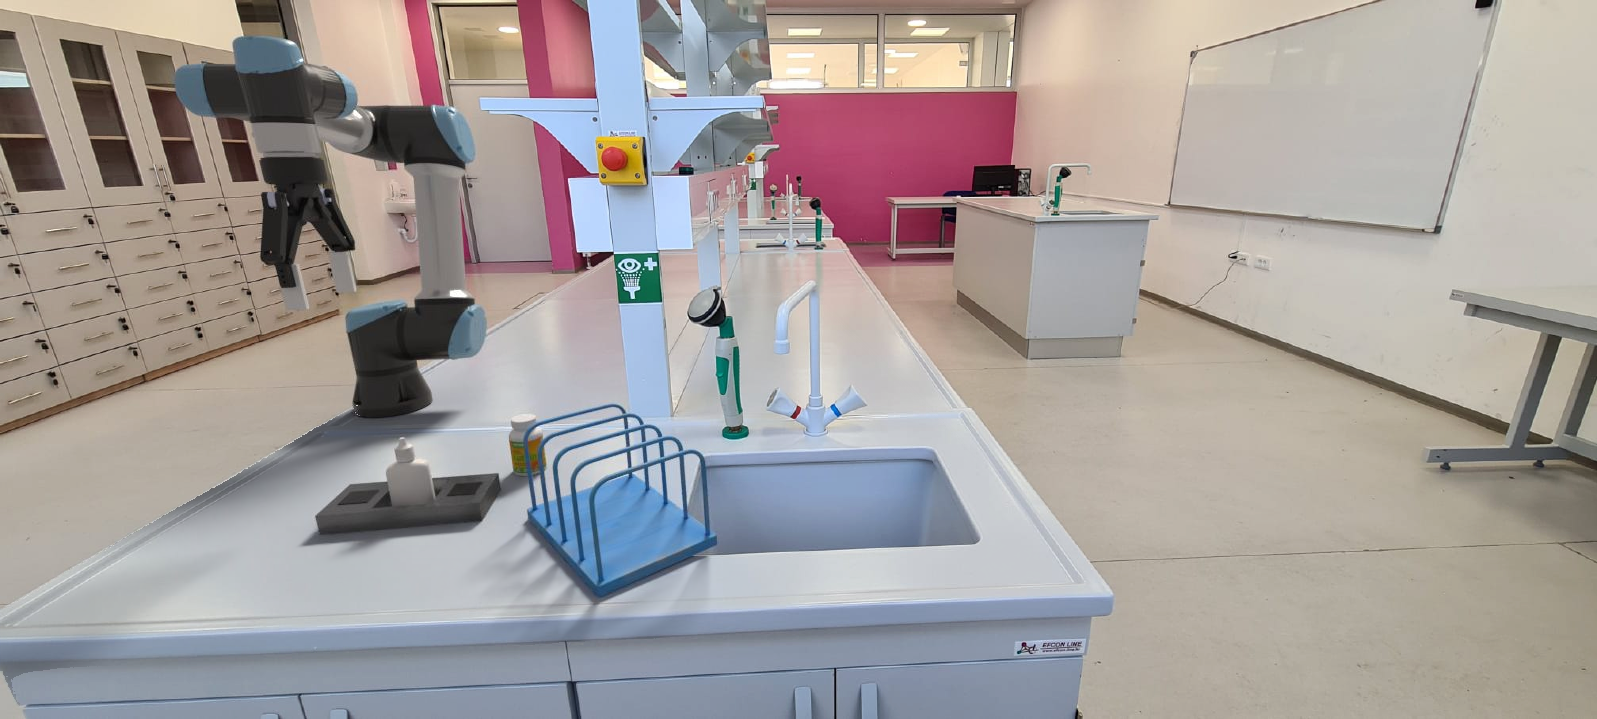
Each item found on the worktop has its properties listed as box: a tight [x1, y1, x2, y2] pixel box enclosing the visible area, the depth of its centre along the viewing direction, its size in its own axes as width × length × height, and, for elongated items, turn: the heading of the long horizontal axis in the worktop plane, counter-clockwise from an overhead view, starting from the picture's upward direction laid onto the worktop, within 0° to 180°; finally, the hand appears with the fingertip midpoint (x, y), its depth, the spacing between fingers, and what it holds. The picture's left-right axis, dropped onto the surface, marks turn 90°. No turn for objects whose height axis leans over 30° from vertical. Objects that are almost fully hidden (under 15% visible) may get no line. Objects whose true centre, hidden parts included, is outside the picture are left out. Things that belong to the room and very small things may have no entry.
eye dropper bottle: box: [385, 436, 436, 507], centre depth 98 cm, size 4×6×12 cm
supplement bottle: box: [508, 413, 547, 477], centre depth 111 cm, size 5×5×10 cm
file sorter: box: [523, 402, 718, 598], centre depth 91 cm, size 25×17×15 cm
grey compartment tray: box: [314, 472, 502, 536], centre depth 99 cm, size 10×22×3 cm, turn 99°
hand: (324, 300), depth 100 cm, fingers open, 13 cm apart
